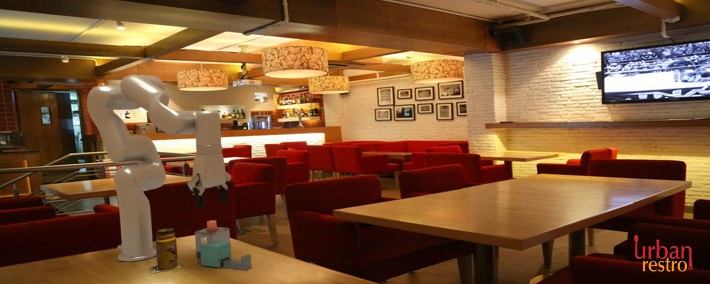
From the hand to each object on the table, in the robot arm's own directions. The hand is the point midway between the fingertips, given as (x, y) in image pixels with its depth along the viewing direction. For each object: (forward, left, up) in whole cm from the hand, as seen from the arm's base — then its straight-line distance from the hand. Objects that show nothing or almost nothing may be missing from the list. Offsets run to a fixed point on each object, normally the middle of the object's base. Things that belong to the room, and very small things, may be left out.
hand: (211, 205), depth 150 cm
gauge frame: (-11, +10, -19) cm, 24 cm away
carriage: (0, 0, -19) cm, 19 cm away
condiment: (-14, -8, -19) cm, 25 cm away
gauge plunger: (-11, +10, -13) cm, 19 cm away
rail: (+3, 0, -19) cm, 19 cm away
